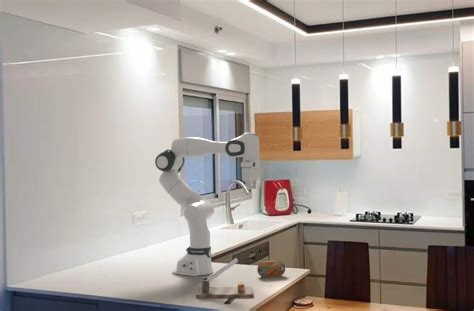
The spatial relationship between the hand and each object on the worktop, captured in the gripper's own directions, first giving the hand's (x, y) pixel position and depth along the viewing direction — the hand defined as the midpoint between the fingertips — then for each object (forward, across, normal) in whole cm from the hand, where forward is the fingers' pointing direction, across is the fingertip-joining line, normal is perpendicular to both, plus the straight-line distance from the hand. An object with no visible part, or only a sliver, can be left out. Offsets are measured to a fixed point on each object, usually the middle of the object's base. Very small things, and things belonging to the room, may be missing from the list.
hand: (251, 189), depth 285 cm
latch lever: (+36, +37, -3) cm, 52 cm away
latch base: (+46, +37, -2) cm, 59 cm away
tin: (+46, -2, +10) cm, 48 cm away
